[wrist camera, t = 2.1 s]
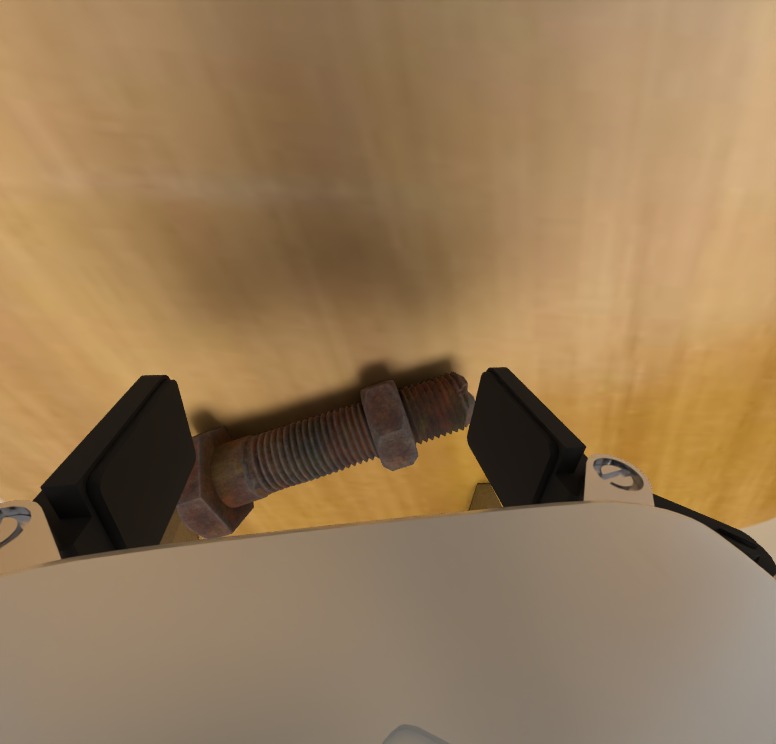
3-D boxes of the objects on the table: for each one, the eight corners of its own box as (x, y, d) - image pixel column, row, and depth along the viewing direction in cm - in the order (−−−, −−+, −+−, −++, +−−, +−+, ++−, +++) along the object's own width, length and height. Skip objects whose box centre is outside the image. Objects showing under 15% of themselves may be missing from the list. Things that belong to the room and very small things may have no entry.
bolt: (446, 372, 22) (224, 444, 22) (449, 329, 17) (168, 419, 17) (483, 458, 19) (230, 542, 19) (499, 433, 15) (166, 543, 14)
